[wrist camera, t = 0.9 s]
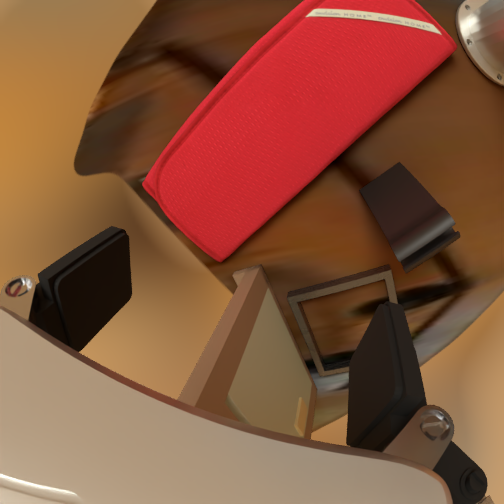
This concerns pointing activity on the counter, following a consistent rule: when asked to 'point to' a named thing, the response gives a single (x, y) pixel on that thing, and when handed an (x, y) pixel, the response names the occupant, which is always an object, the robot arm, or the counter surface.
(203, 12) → the counter surface
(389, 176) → the phone stand
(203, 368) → the tan picture frame
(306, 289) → the grey flat square frame
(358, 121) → the dish drying mat
